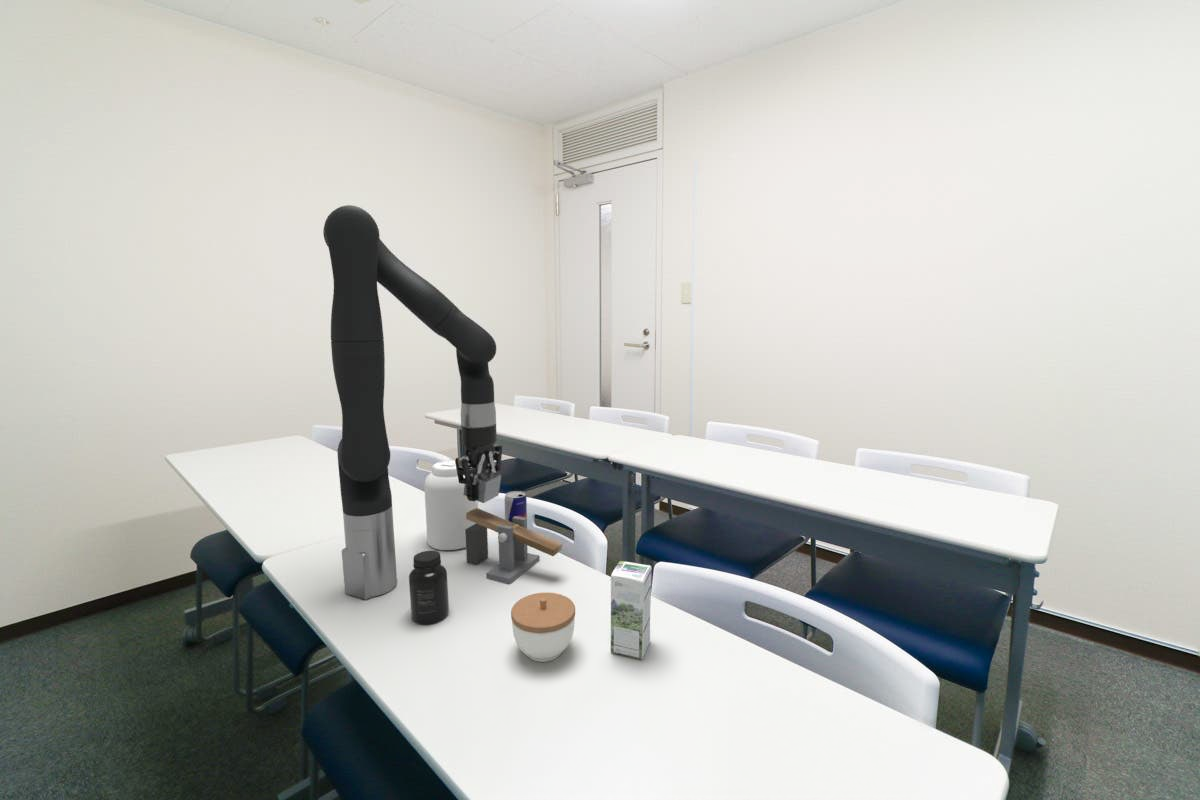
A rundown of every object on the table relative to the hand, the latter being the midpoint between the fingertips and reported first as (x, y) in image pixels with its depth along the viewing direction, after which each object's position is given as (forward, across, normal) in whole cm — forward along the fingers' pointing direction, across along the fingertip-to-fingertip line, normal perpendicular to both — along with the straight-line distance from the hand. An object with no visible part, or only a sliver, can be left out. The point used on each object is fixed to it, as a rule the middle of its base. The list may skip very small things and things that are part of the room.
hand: (481, 495), depth 121 cm
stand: (+16, 0, +4) cm, 16 cm away
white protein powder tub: (+16, -6, -14) cm, 22 cm away
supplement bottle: (+16, +22, +4) cm, 27 cm away
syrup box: (+16, +15, +42) cm, 48 cm away
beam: (+7, 0, +8) cm, 11 cm away
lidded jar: (+16, +22, +29) cm, 40 cm away
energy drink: (+16, -13, 0) cm, 21 cm away
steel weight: (0, 0, 0) cm, 0 cm away
